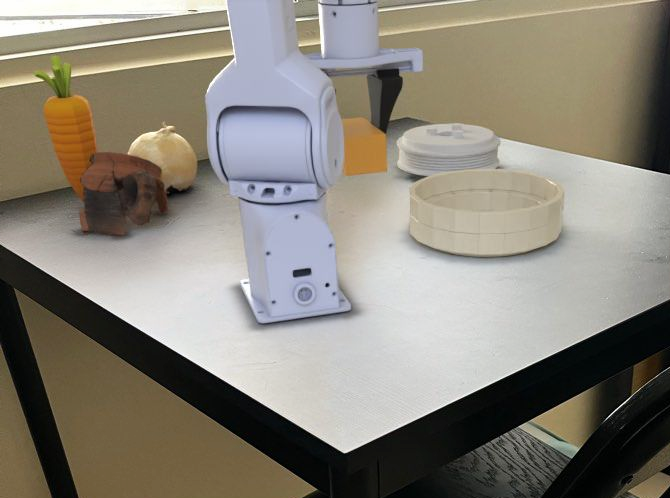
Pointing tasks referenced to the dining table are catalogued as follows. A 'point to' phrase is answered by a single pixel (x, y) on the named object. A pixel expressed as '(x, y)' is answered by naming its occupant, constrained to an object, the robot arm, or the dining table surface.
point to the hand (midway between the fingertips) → (355, 152)
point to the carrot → (69, 125)
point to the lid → (447, 149)
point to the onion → (168, 156)
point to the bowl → (486, 211)
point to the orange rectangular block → (363, 147)
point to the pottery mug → (120, 192)
